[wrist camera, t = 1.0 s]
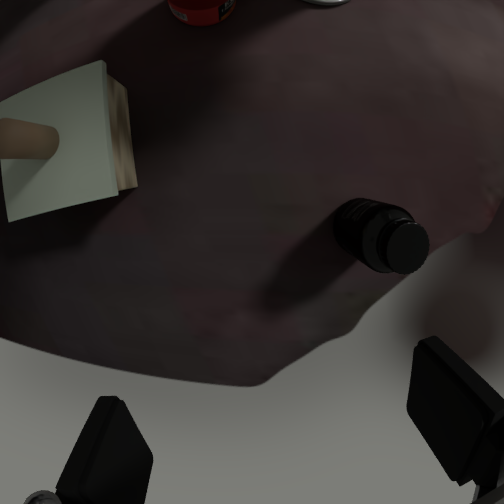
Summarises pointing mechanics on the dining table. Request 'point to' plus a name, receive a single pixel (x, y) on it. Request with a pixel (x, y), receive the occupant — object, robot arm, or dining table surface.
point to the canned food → (201, 11)
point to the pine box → (121, 135)
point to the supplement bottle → (381, 236)
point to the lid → (57, 143)
